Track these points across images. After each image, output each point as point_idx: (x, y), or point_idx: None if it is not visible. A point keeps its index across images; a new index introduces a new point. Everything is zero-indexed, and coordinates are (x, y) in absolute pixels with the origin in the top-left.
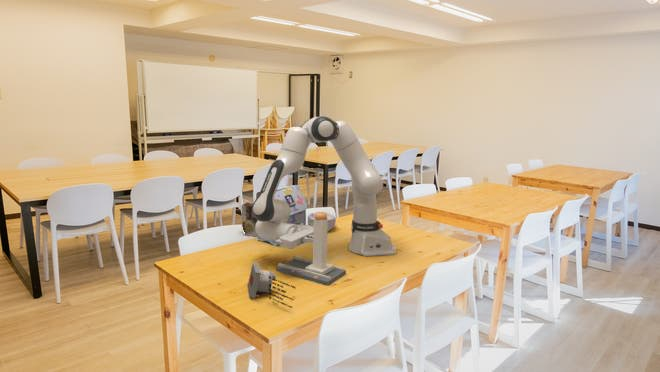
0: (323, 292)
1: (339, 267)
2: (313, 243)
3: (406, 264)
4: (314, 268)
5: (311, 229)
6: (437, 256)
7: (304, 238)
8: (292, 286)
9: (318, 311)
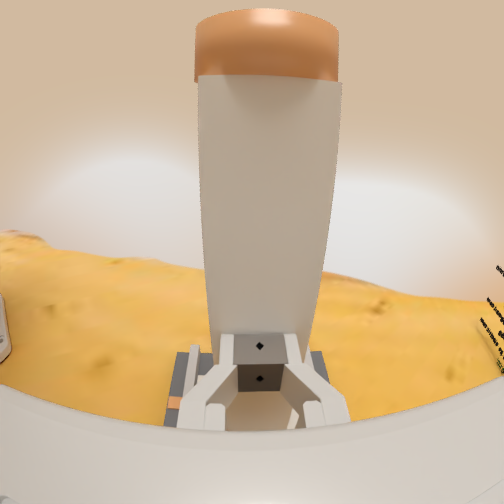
0: (363, 344)
1: (188, 362)
2: (305, 348)
3: (61, 270)
4: (297, 420)
5: (24, 451)
6: (21, 247)
7: (347, 408)
8: (502, 271)
9: (427, 302)
